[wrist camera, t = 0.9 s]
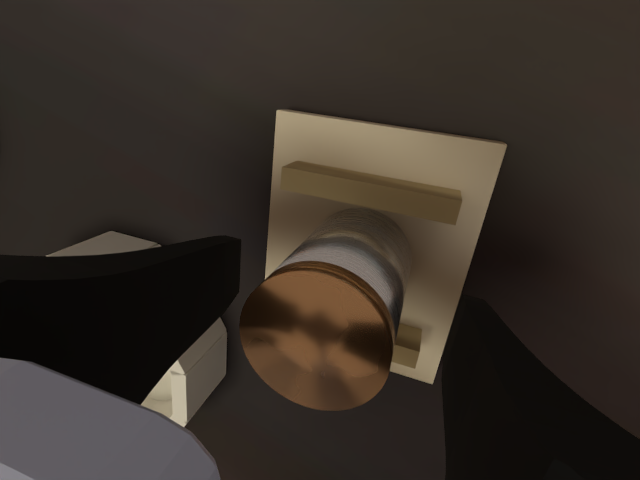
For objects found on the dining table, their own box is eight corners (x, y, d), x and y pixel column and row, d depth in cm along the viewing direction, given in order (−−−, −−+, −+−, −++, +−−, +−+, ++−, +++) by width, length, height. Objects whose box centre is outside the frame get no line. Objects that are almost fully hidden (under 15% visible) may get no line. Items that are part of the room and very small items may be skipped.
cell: (399, 312, 15) (374, 431, 9) (307, 287, 16) (237, 382, 10) (422, 219, 13) (407, 299, 8) (318, 198, 14) (242, 256, 9)
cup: (224, 426, 22) (188, 480, 19) (79, 369, 25) (26, 408, 22) (228, 262, 18) (183, 296, 15) (51, 214, 21) (-19, 235, 17)
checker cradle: (433, 368, 16) (431, 410, 14) (270, 319, 18) (245, 350, 16) (502, 141, 13) (515, 150, 10) (286, 109, 14) (258, 111, 12)
